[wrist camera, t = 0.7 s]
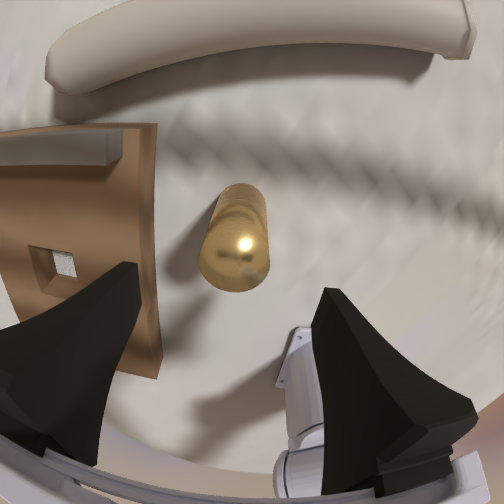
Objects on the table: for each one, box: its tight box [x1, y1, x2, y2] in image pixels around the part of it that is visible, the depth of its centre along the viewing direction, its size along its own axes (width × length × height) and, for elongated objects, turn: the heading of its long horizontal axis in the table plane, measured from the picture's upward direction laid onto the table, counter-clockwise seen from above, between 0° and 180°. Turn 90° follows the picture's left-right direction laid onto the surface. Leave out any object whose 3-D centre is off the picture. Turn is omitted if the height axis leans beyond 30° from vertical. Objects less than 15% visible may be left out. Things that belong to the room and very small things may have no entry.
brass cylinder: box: [199, 183, 270, 292], centre depth 16 cm, size 3×3×7 cm
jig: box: [0, 123, 163, 380], centre depth 19 cm, size 22×16×5 cm
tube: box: [45, 0, 477, 95], centre depth 11 cm, size 5×5×25 cm
